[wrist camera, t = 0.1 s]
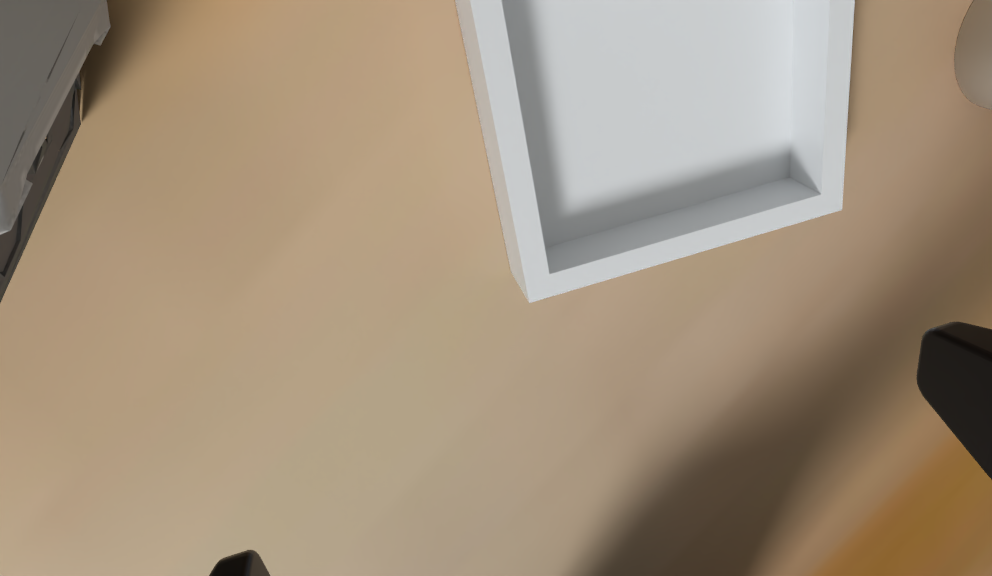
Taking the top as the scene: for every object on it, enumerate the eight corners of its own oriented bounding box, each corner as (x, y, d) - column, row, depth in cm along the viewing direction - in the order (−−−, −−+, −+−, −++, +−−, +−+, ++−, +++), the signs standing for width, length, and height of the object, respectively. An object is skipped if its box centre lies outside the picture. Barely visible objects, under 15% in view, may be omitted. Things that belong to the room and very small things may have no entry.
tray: (801, 187, 26) (842, 209, 24) (510, 271, 25) (529, 302, 23) (811, -169, 20) (865, -176, 18) (438, -83, 19) (454, -83, 17)
